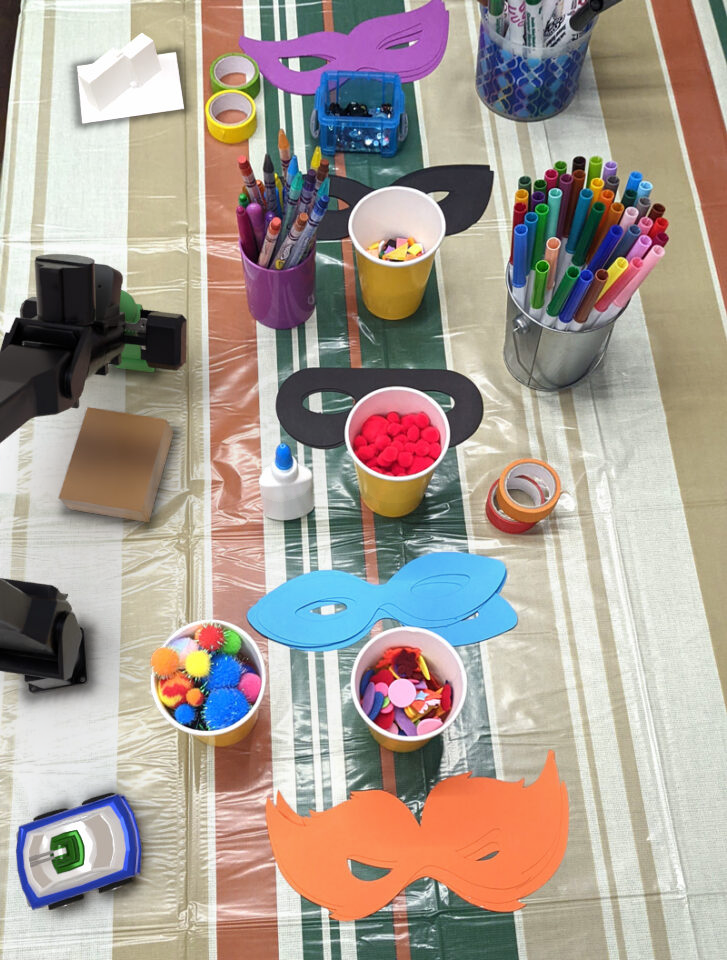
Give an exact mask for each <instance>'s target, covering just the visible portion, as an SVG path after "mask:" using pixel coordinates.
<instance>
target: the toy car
mask: <svg viewBox="0 0 727 960" xmlns="http://www.w3.org/2000/svg"><path fill="white" fill-rule="evenodd" d="M17 829H18V831H16V834H15V835H16V846H15V856H16V869H17V874H18V878H19V882H20V887H21V890H22V892H23V894H24V896H25V899H26V903H27V906H28V907H29V908H30V909H31V910H32V911H35V910H39V909H43V908H45V907H48V911H53V910H56V909H59V908H60V909H61V908H65V907H67V906H70V905H72V904H73V905H74V904H75V903H77V902H79V901H82V900H84V899H85V893H89V892H92V891H94V890H97V892H98V894H103V893H106V892H108V891H109V892H110V891H114V890H118V889H120V888H123V887H124V886H127V885H129V884H132V883H133V882H134V877H137V876H140V875H141V871H142V854H143V847H142V842H141V834H140V829H139V825H138V822H137V818H136V814H135V812H134V810H133V809H132V807H131V805H130V803H129V801H128V800H127V798H126V795H125V794H123V793H116V792H109V793H104V794H100V795H97V796H94V797H91V798H87V799H86V800H83V801H82V802H81V805H79V806H76V807H73V808H70V809H68V808H67V807H66V808H64V807H63V808H58V809H55V810H51V811H47V812H45V813H41V814H39V815H36V816H35V817H33V819H32V821H30V822H26V823H24V824H20V825H19V826H18V828H17Z"/></svg>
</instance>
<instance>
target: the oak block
mask: <svg viewBox="0 0 727 960" xmlns="http://www.w3.org/2000/svg"><path fill="white" fill-rule="evenodd" d="M173 437H174V432H173V429H172V427H171V425H170V424H169V421H168V419H166V418H159V417H152V416H149V415H148V416H147V415H141V414H135V413H128V412H122V411H121V412H120V411H116V410H109V409H103V408H96V407H90V406H87V407H86V409H85V413H84V416H83V420H82V423H81V426H80V429H79V432H78V435H77V438H76V441H75V444H74V448H73V451H72V454H71V456H70V460H69V464H68V467H67V470H66V472H65V476H64V480H63V482H62V486H61V489H60V491H59V495H58V499H59V500H60V501H61V503H63V504H64V506H66V508H67V509H68V510H73V511H78V512H84V513H90V514H96V515H102V516H107V517H108V516H109V517H115V518H120V519H127V520H132V521H137V522H145V523H149V522H150V519H151V517H152V513H153V509H154V505H155V501H156V498H157V495H158V491H159V487H160V483H161V480H162V477H163V472H164V470H165V469H164V468H165V465H166V461H167V459H168V454H169V451H170V446H171V444H172V439H173Z"/></svg>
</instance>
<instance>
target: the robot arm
mask: <svg viewBox="0 0 727 960" xmlns="http://www.w3.org/2000/svg"><path fill="white" fill-rule="evenodd" d="M34 258H35V259H34V276H35V296H30V297H29V298H26V299H25V300H24V301H23V302H22V303H21V305H20V308H19V317H17V316H16V317H15V318H14V320H13V323H12V325H11V327H10V329H9V330H8V331H6V332H5V333H4V336H3V339H2V342H1V346H0V444H1V443H2V442H4V441H5V440H6V439H8V438H9V437H10V436H12V435H13V434H14V433H15V432H16V431H17V430H19V429H20V428H21V427H23V426H24V425H25V424H26V423H27V422H29V421H30V420H32V419H34V418H40V417H48V416H56V415H59V414H62V413H63V412H65V411H67V410H70V409H79V408H80V398H81V396H82V395H83V393H84V389H85V387H86V381H87V380H89V379H90V378H91V377H93V376H95V375H96V376H103V377H106V376H107V375H109V374H110V369H109V368H110V366H112V365H113V366H115V365H120V364H121V363H122V352H123V351H124V350H125V344H132V345H138V346H141V360H146V363H147V365H148V367H150V368H155V369H159V370H166V371H174V372H177V371H179V370H180V369H181V368H182V367H183V366H185V364H186V363H187V339H188V338H187V334H188V331H187V329H188V327H187V326H188V319H187V318H186V317H185V316H184V315H183V314H182V313H173V312H164V311H159V310H157V311H156V310H152V309H151V310H149V309H144V308H143V309H140V320H138V322H137V323H131V322H125V312H120V297H121V290H122V287H123V286H122V285H123V283H124V277H123V276H124V275H123V274H122V272H121V271H120V270H118V269H116V268H114V267H112V266H110V265H107V264H104V263H103V264H102V263H95V259H94V258H93V257H89V256H85V255H79V254H71V253H48V254H41V255H37V256H35V257H34ZM125 330H126V331H125ZM129 330H130V332H128V331H129ZM132 330H133V332H131V331H132ZM135 331H136V332H137V333H136V332H135ZM109 365H110V366H109ZM68 597H69V593H66V592H61V590H59V588H58V587H57V586H54V585H52V584H47V583H39V582H33V581H32V582H31V581H25V580H17V579H10V578H3V577H0V672H3V673H10V674H16V675H23V676H24V681H25V683H27V684H28V691H29V692H30V693H31V694H38V693H43V692H49V691H55V690H60V689H67V688H70V687H71V688H72V687H78V686H83V685H86V684H87V683H88V681H89V672H88V670H89V669H88V656H87V655H88V654H87V641H86V630H85V628H84V627H81V626H80V625H79V622H78V619H77V616H76V614H75V613H74V612H73V608H72V604H70V602H69V600H67V599H68ZM82 679H84V680H83V681H82ZM34 687H35V688H34ZM33 688H34V690H33Z"/></svg>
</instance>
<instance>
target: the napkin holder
mask: <svg viewBox="0 0 727 960" xmlns="http://www.w3.org/2000/svg"><path fill="white" fill-rule="evenodd" d="M177 57H178V56H177V52H176V51H175V52H167V53H160V54H158V53H157V49H156V46H155V42H154V40H153V39H152V38H150V37H149V36H147V35H146V34H145V33H143V32H141V33H139V34H138V35H137V36H135V37H134V38H133V39H132V40H130V41H129V42H128V43H127V44H126V45H124V46H123V47H122V48H121V49H119V48H118V49H117V48H115V47H114V46H113V47H111V48H109V50H108V51H107V52H105V53H104V54H103V55H101V56H100V57H99V58H98V59H96V60H95V61H94V62H93V63H89V64H81V65H77V66H76V69H77V70H76V71H77V80H78V91H79V93H78V94H79V104H80V115H81V123H82V125H83V124H89V123H96V122H102V121H103V122H104V121H109V120H117V119H123V118H124V119H125V118H129V117H130V118H131V117H136V116H137V117H138V116H144V115H151V114H159V113H164V112H172V111H178V110H179V111H180V110H185V107H184V106H185V105H184V99H183V93H182V85H181V79H180V71H179V64H178V58H177Z"/></svg>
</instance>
